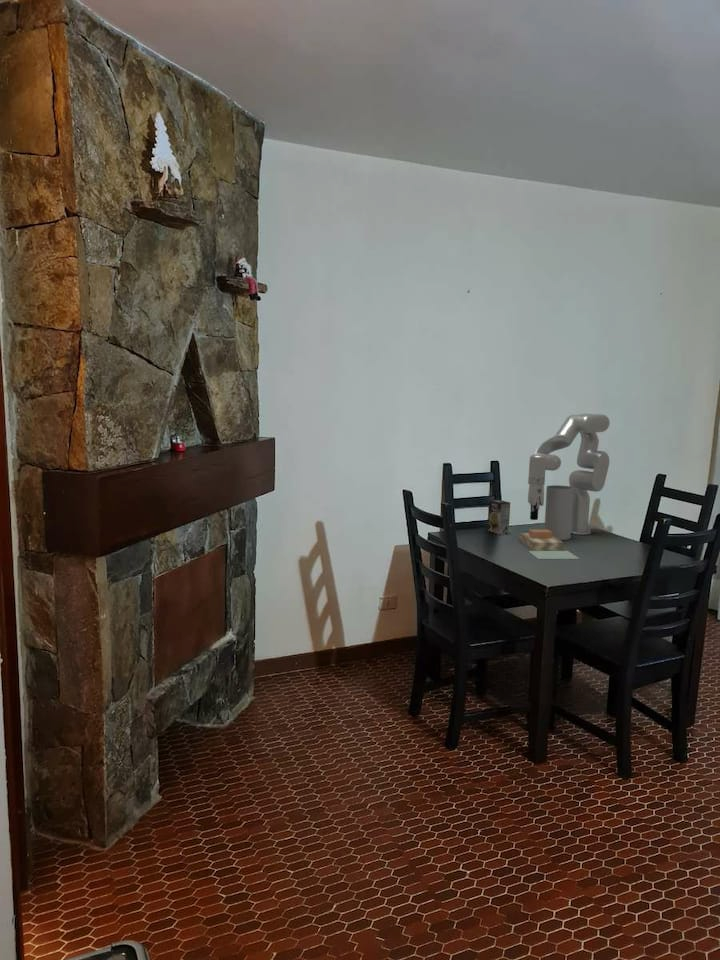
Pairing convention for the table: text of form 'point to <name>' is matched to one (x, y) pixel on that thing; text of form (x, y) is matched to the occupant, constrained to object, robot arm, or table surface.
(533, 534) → the thick terracotta block
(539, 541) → the board
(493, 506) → the coffee box
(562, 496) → the cylinder vase
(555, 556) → the mat
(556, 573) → the table surface
